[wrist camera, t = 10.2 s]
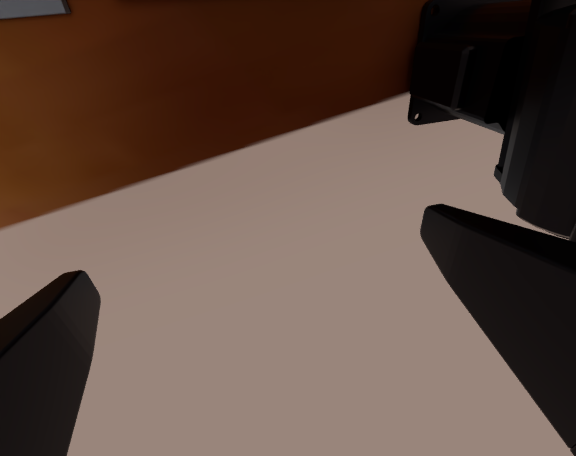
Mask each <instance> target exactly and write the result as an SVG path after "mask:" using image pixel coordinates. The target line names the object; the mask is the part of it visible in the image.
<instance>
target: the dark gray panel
mask: <svg viewBox="0 0 576 456" xmlns="http://www.w3.org/2000/svg"><path fill="white" fill-rule="evenodd" d="M67 13H71V12H70V9H69V7H68V4H67V2H66V0H0V19H10V18H21V17H33V16H44V15H56V14H67Z"/></svg>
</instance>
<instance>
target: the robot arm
mask: <svg viewBox="0 0 576 456" xmlns="http://www.w3.org/2000/svg"><path fill="white" fill-rule="evenodd" d="M433 6H434V7H435V12H434V14H433V15H431V9H432V7H433ZM410 94H411V98H410V104H409V111H408V121H409V122H410V123H411V124H414V125H422V124H428V123H435V122H442V121H449V120H455V119H464V120H466V121H469V122H471V123H474V124H477V125H479V126H482V127H485V128H488V129H490V130H493V131H496V132H498V133H501V134H504V139H503V143H502V149H501V153H500V158H499V163H498V164H497V165H496V167H495V171H494V176H495V177H496V179H497V180H498V181H499V182H500V184H501V189H502V193H503V195H504V196H505V197H506V198H507V199H508V200H509V201H510V202H511V203H512V204H513V205H514V206H515V207H516V208H517V211H516V215H517V216H518V217H519V218H521V219H522V220H524V221H526V222H528V223H530V224H532V225H533V226H535V227H537V228H539V229H542V230H545V231H547V232H549V233H552V234H554V235H556V236H559V237H563V238H566V239H569V240H566V239H562V238H558V237H555V236H552V235H548V234H545V233H542V232H538V231H535V230H531V229H528V228H524V227H521V226H517V225H514V224H510V223H507V222H503V221H500V220H496V219H493V218H490V217H486V216H482V215H479V214H476V213H472V212H469V211H465V210H462V209H458V208H455V207H451V206H448V205H444V204H436V205H431V206H428V207H426V209H425V211H424V215H423V220H422V225H421V229H420V234H421V237H422V240H423V242H424V243H425V245H426V247H427V249H428V250H429V252H430V254H431V255H432V257H433V259H434V261H435V262H436V264H437V266H438V267H439V269H440V271H441V273H442V274H443V276H444V278H445V279H446V281H447V282H448V284H449V285H450V287H451V288H452V289H453V291H454V292H455V294H456V295H457V296H458V298H459V299H460V300H461V302H462V303H463V304H464V306H465V307H466V309H467V310H468V311H469V313H470V314H471V315H472V317H473V318H474V320H475V321H476V322H477V324H478V325H479V326H480V328H481V329H482V330H483V332H484V333H485V335H486V336H487V337H488V338H489V340H490V341H491V343H492V344H493V345H494V347H495V348H496V349H497V351H498V352H499V354H500V355H501V356H502V357H503V359H504V360H505V362H506V363H507V364H508V366H509V367H510V369H511V370H512V371H513V373H514V374H515V375H516V377H517V378H518V379H519V381H520V382H521V384H522V385H523V386H524V388H525V389H526V390H527V392H528V393H529V394H530V396H531V397H532V399H533V400H534V401H535V403H536V404H537V405H538V407H539V408H540V410H542V412H543V413H544V415H545V416H546V418H547V419H548V420H549V422H550V423H551V425H552V426H553V427H554V429H555V430H556V431H557V433H558V434H559V435H560V437H561V438H562V439H563V441H564V442H565V443H566V445H567V446H568V447H569V448H571V449H570V451H571V452H572V453H573V455H574V456H576V0H429V1H428V2H427V3H426V4H425V6H424V7H423V11H422V17H421V25H420V32H419V39H418V45H417V47H416V49H415V56H414V63H413V71H412V78H411V85H410ZM418 113H419V116H418V118H417V119H415V116H416V114H418ZM100 303H101V301H100V295H99V293H98V291H97V289H96V287H95V286H94V284H93V283H92V281H91V279H90V278H89V276H88V275H87V273H86V272H85V271H82V270H78V271H73V272H67V273H64V274H62V275H60V276H59V277H58V278H56V279H55V280H54V281H52V282H51V283H49V284H48V285H47V286H45V287H44V288H43V289H41V290H40V291H39V292H37V293H36V294H34V295H33V296H32V297H30V298H29V299H27V300H26V301H25V302H24V303H22V304H21V305H19V306H18V307H16V308H15V309H14V310H12V311H11V312H10V313H8V314H7V315H6V316H4V317H3V318H1V319H0V456H67V452H68V448H69V444H70V441H71V438H72V434H73V430H74V426H75V422H76V419H77V415H78V411H79V408H80V404H81V400H82V396H83V393H84V389H85V385H86V381H87V378H88V374H89V370H90V366H91V361H92V357H93V351H94V345H95V338H96V331H97V324H98V316H99V310H100Z"/></svg>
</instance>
